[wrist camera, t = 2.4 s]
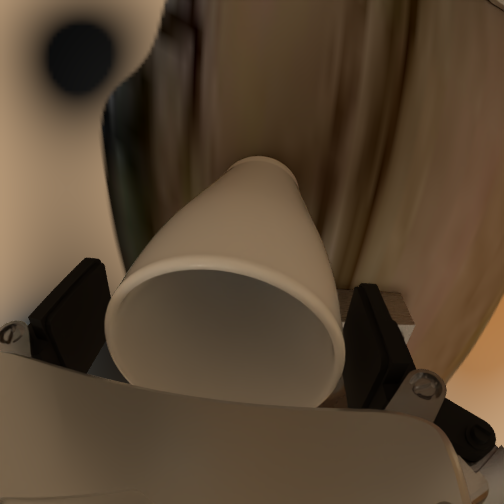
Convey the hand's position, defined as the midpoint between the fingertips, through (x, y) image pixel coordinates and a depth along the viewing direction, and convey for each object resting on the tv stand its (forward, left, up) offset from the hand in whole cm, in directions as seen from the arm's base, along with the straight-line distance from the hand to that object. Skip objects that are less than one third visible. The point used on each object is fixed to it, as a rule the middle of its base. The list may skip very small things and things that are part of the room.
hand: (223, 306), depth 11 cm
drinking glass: (-1, 0, -12) cm, 12 cm away
